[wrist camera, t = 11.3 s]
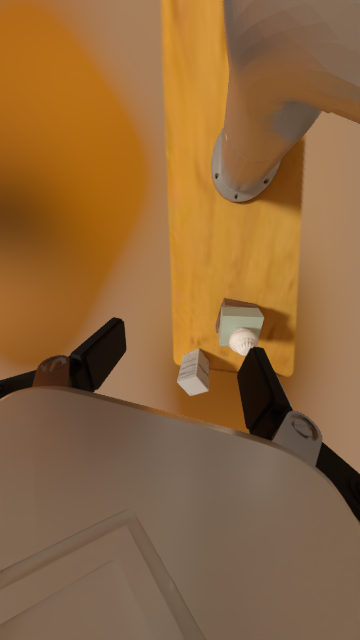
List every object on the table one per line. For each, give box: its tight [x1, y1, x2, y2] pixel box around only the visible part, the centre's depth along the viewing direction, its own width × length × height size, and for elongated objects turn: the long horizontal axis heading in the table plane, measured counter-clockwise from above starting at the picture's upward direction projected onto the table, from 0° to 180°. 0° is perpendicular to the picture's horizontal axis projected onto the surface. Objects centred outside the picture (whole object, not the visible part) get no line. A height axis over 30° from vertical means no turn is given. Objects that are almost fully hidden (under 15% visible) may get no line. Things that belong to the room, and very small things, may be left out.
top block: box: [219, 307, 264, 346], centre depth 38 cm, size 9×9×5 cm
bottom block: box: [216, 298, 258, 333], centre depth 43 cm, size 9×9×5 cm
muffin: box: [229, 327, 258, 356], centre depth 33 cm, size 6×6×7 cm
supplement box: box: [177, 349, 209, 396], centre depth 51 cm, size 7×7×13 cm
